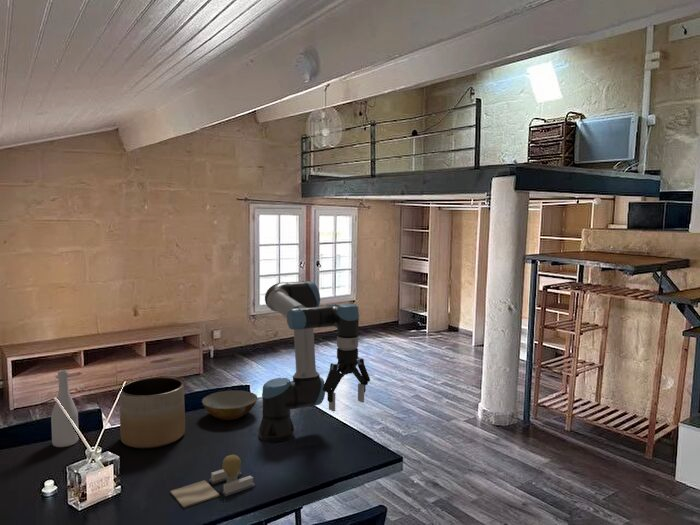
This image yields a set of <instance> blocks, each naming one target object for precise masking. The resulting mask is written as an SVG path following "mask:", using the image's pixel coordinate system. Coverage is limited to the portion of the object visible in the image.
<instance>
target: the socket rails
mask: <svg viewBox="0 0 700 525" xmlns="http://www.w3.org/2000/svg"><path fill="white" fill-rule="evenodd" d="M210 473H211V474H210V477H211V478H209V482H210V483H211V484H212V485H214V484H218V483H220V482H224V481H227V477H226V476H227V474H226V473H225V471H224V470H223V468H222V469H218V470H216V471H213V472H210ZM237 475H238V476H237V477H240V476H242V472H241V469H240V470H239V471H238V473H237ZM254 487H256V484H255V483H254V477H253V475H248V476H245V477H242V478H238V479H237V480H235V481H232V482H229V483H227V482H226V483H223V490H221V493H222V495H224V496H225V497H228V496H230V495H234V494H236V493H240V492H242V491H245V490H248V489H252V488H254Z"/></svg>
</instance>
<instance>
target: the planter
mask: <svg viewBox="0 0 700 525" xmlns="http://www.w3.org/2000/svg"><path fill="white" fill-rule="evenodd" d="M124 385H125V386H124V387H123V385H122V386H120V388H119V392H120V391H121V389H122V387H123V389H122V392H121V394H120V393H119V429H120V430H119V431H120V432H119V434H120V435H119V436H120V441H121V443H123V444H124V445H125V446H127V447H129V448H134V449H142V450H143V449H144V450H145V449H146V450H147V449H155V448H160V447H165V446H168V445H170V444H173V443H175V442H177V441H178V440H180V439H181V437H183V436H184V435H185V433H186V410H185V409H186V408H185V383H184V381H183V380H181V379H179V378H174V377H167V376H160V377H159V376H158V377H156V376H155V377H147V378H140V379H136V380H133V381H130V382H127V383H125V384H124Z"/></svg>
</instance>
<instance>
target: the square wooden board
mask: <svg viewBox="0 0 700 525" xmlns="http://www.w3.org/2000/svg"><path fill="white" fill-rule="evenodd" d="M169 492H170V494H171V496H173V498H174V499H175V500H176V501H177V502H178V503H179V505H180V506H181V507H182V508H183V509H187V508H189V507H192V506H194V505H198V504H201V503H203V502H206V501H209V500H211V499H212V500H213V499H216V498H218V497H220V494H219V492H217V491H216V490H215V488H213V487H212V486H211V484H209V483H208V481H206V480H205V479H204V480H201V481H197V482H194V483H191V484H188V485H184V486H182V487H179V488H175V489H172V490H170V491H169Z"/></svg>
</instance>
